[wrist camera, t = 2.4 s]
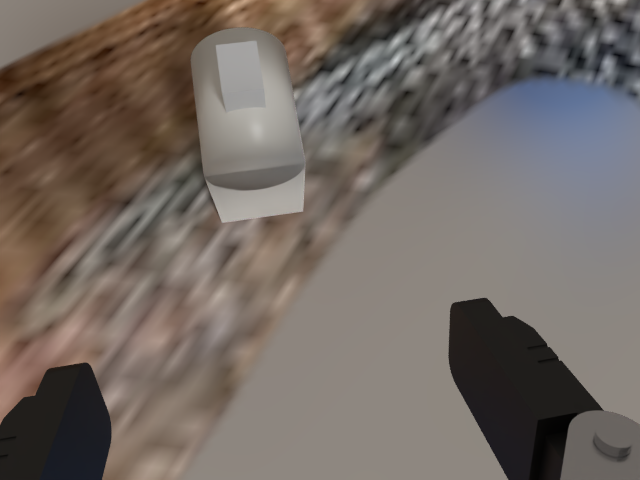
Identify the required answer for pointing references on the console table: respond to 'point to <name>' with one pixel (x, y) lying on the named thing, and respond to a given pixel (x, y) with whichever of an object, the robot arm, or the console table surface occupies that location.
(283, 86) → the cylinder
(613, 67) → the console table surface
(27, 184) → the console table surface
